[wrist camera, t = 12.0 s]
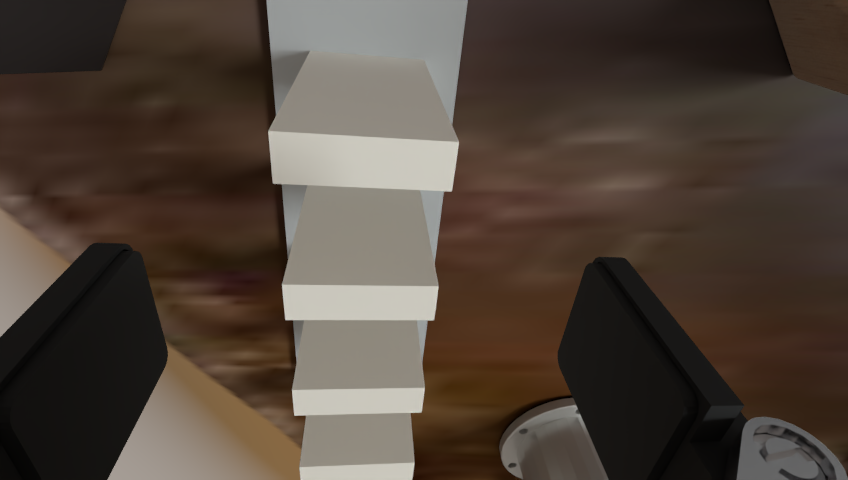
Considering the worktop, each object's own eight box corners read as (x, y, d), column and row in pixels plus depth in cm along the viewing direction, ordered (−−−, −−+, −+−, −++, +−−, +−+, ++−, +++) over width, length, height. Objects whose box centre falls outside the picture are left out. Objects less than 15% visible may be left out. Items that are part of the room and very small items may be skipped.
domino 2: (412, 189, 29) (433, 320, 19) (315, 185, 29) (285, 320, 19) (414, 162, 28) (438, 286, 18) (314, 158, 28) (281, 284, 18)
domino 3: (405, 266, 33) (421, 412, 23) (318, 264, 32) (294, 415, 22) (407, 244, 32) (424, 387, 22) (317, 242, 31) (291, 389, 21)
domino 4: (400, 328, 36) (412, 481, 26) (321, 329, 35) (301, 486, 25) (402, 311, 35) (414, 462, 25) (320, 311, 34) (299, 467, 24)
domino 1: (310, 50, 24) (268, 131, 14) (424, 59, 25) (459, 142, 15) (311, 85, 25) (272, 183, 15) (420, 93, 26) (452, 191, 16)
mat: (418, 385, 40) (418, 389, 40) (299, 387, 39) (299, 392, 39) (466, -3, 24) (467, -2, 24) (266, -21, 23) (264, -20, 22)
